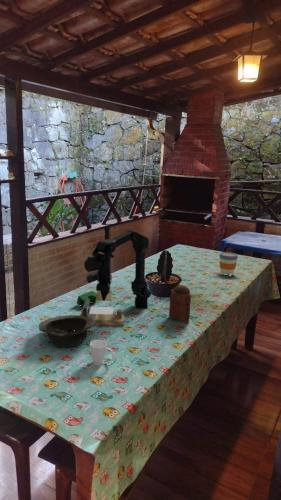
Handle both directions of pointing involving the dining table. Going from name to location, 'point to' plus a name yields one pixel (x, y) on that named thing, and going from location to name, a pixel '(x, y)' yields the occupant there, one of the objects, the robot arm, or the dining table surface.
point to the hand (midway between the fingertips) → (104, 298)
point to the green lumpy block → (88, 296)
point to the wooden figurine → (180, 303)
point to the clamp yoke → (86, 308)
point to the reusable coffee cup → (227, 262)
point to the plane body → (107, 318)
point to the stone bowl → (67, 329)
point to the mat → (101, 310)
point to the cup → (99, 351)
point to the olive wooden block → (99, 297)
